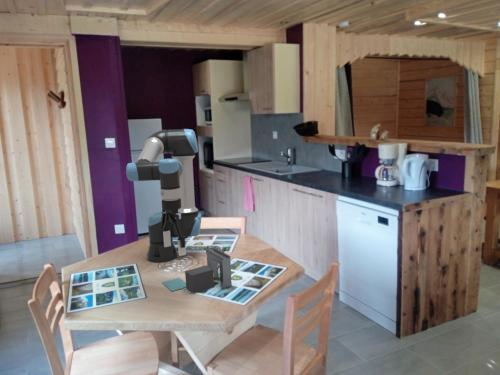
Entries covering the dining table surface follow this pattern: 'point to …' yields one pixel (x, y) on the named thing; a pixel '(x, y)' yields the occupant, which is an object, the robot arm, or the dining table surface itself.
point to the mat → (175, 284)
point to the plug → (199, 279)
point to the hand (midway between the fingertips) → (174, 250)
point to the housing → (225, 266)
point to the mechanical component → (214, 247)
